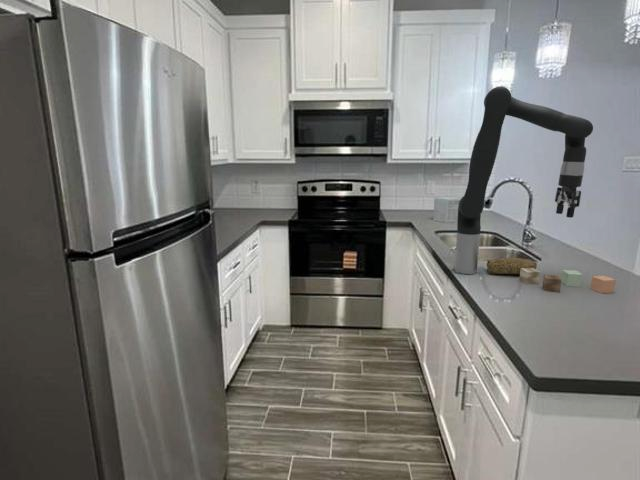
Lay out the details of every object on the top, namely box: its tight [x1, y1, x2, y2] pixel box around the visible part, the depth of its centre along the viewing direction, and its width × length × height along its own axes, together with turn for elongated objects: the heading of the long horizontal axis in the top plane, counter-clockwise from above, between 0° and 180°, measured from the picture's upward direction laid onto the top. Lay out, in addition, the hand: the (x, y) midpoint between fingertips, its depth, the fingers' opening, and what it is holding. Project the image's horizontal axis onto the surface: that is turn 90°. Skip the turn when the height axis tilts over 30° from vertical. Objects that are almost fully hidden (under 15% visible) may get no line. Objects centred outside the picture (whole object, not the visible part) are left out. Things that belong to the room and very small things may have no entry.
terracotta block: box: [589, 275, 616, 294], centre depth 143 cm, size 5×5×5 cm
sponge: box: [486, 256, 538, 275], centre depth 164 cm, size 13×8×20 cm
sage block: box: [560, 269, 584, 288], centre depth 150 cm, size 5×5×5 cm
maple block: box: [519, 268, 541, 285], centre depth 153 cm, size 5×5×5 cm
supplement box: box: [432, 196, 461, 224], centre depth 286 cm, size 13×13×18 cm
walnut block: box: [542, 274, 562, 293], centre depth 144 cm, size 5×5×5 cm
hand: (564, 215), depth 151 cm, fingers open, 8 cm apart
